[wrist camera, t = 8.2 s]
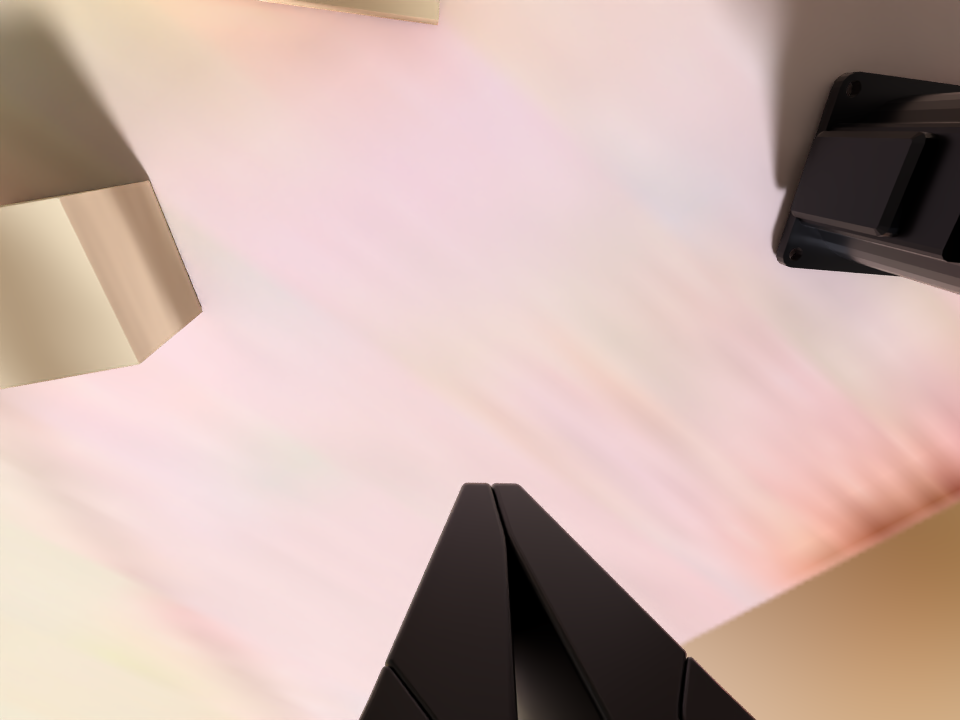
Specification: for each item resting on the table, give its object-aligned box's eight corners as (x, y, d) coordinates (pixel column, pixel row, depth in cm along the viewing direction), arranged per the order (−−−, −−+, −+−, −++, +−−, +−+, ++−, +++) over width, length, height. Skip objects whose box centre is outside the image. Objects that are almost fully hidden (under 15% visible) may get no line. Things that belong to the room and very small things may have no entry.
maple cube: (149, 180, 16) (58, 197, 12) (202, 311, 18) (139, 364, 14) (7, 204, 16) (-133, 230, 12) (75, 334, 18) (-25, 393, 14)
